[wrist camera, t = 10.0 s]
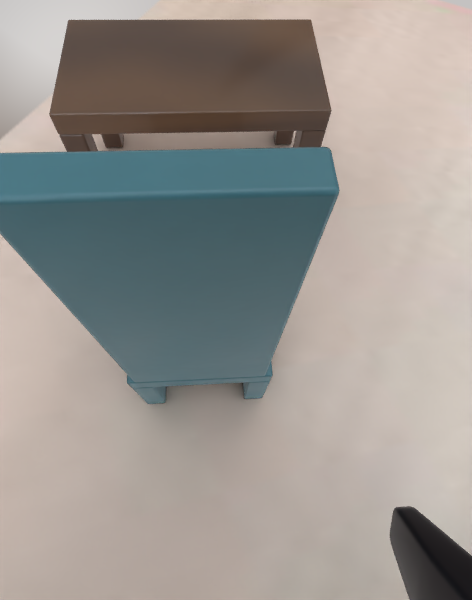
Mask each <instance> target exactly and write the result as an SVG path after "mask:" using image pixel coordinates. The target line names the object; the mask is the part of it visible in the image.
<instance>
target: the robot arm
mask: <svg viewBox="0 0 472 600" xmlns="http://www.w3.org/2000/svg"><path fill="white" fill-rule="evenodd" d="M390 541H391V545H392V548H393V551H394V554H395V557H396V560H397V563H398V566H399V569H400V572H401V575H402V578H403V581H404V584H405V587H406V590H407V593H408V596H409V599H410V600H472V556H471V555H470V554H469V553H468V552H467V551H465V550H464V549H463V548H462V547H461V546H459V545H458V544H457V543H456V542H455V541H453V540H452V539H451V538H450V537H449V536H448V535H446V534H445V533H444V532H443V531H442V530H440V529H439V528H438V527H437V526H436V525H434V524H433V523H432V522H431V521H430V520H428V519H427V518H426V517H425V516H424V515H423V514H421V513H420V512H419V511H418V510H417V509H415V508H413V507H411V506H406V507H396V508H395V509H394V511H393V516H392V522H391V528H390Z"/></svg>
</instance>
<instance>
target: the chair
mask: <svg viewBox="0 0 472 600" xmlns="http://www.w3.org/2000/svg"><path fill="white" fill-rule="evenodd" d="M338 194H339V186H338V181H337V177H336V172H335V167H334V162H333V158H332V153H331V150H330V149H329V148H327V147H299V148H245V149H192V150H138V151H85V152H31V153H0V234H1V235H2V236H3V237H4V238H5V239H6V241H7V242H8V243H9V244H10V245H11V246H12V247H13V248H14V249H15V250H16V252H17V253H18V254H19V255H20V256H21V257H22V258H23V259H24V260H25V262H26V263H27V264H28V265H29V266H30V267H31V268H32V269H33V270H34V271H35V273H36V274H37V275H38V276H39V277H40V278H41V279H42V280H43V281H44V283H45V284H46V285H47V286H48V287H49V288H50V289H51V290H52V291H53V293H54V294H55V295H56V296H57V297H58V298H59V299H60V300H61V301H62V302H63V304H64V305H65V306H66V307H67V308H68V309H69V310H70V311H71V312H72V314H73V315H74V316H75V317H76V318H77V319H78V320H79V321H80V322H81V324H82V325H83V326H84V327H85V328H86V329H87V330H88V331H89V332H90V333H91V335H92V336H93V337H94V338H95V339H96V340H97V341H98V342H99V343H100V345H101V346H102V347H103V348H104V349H105V350H106V351H107V352H108V353H109V355H110V356H111V357H112V358H113V359H114V360H115V361H116V362H117V363H118V364H119V366H120V367H121V368H122V369H123V370H124V371H125V372H126V373H127V383H128V384H129V385H130V386H131V387H132V388H133V389H134V390H135V391H136V392H137V393H138V394H139V395H140V396H141V397H142V398H143V399H144V400H145V401H146V403H148V404H156V403H165V401H166V386H182V385H203V384H223V383H243V388H244V399H255V398H262V397H263V395H264V393H265V391H266V388H267V386H268V384H269V382H270V379H271V377H272V375H273V374H272V364H271V360H272V357H273V355H274V352H275V350H276V347H277V345H278V342H279V340H280V337H281V335H282V333H283V330H284V328H285V325H286V323H287V320H288V318H289V315H290V313H291V310H292V308H293V305H294V303H295V300H296V298H297V296H298V293H299V291H300V288H301V286H302V283H303V281H304V278H305V276H306V273H307V271H308V268H309V266H310V263H311V261H312V258H313V256H314V254H315V251H316V249H317V246H318V244H319V241H320V239H321V236H322V234H323V231H324V229H325V226H326V224H327V221H328V219H329V217H330V214H331V212H332V209H333V207H334V204H335V202H336V199H337V197H338Z"/></svg>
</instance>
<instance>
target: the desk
mask: <svg viewBox="0 0 472 600" xmlns="http://www.w3.org/2000/svg"><path fill="white" fill-rule="evenodd" d="M330 114H331V107H330V102H329V98H328V93H327V89H326V85H325V80H324V76H323V71H322V67H321V62H320V58H319V53H318V49H317V44H316V40H315V36H314V31H313V27H312V22H311V20H69V21H68V24H67V29H66V35H65V40H64V44H63V49H62V54H61V59H60V64H59V69H58V74H57V79H56V84H55V89H54V94H53V99H52V104H51V109H50V113H49V115H50V117H51V119H52V121H53V123H54V126H55V128H56V130H57V132H58V134H60V138H61V140H62V142H63V144H64V146H65V148H66V150H67V152H85V151H98V150H97V147H96V145H95V142H94V139H93V137H92V134H101V135H102V138H103V141H104V144H105V146H106V147H107V148H115V147H123V136H124V135H123V134H129V133H191V132H252V131H274V140H275V144H276V145H280V144H291V142H292V138H293V133H294V131H296V136H295V141H294V145H293V148H299V147H321V144H322V141H323V138H324V134H325V130H326V127H327V124H328V121H329V117H330Z"/></svg>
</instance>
